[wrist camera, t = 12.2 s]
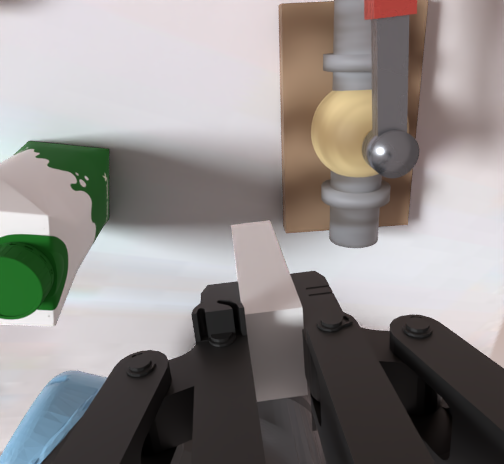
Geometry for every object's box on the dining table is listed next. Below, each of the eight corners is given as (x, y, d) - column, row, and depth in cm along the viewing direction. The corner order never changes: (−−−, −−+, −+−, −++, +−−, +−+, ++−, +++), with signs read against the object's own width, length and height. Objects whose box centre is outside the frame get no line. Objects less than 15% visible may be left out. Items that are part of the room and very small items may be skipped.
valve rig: (400, 217, 48) (446, 263, 38) (283, 225, 47) (300, 274, 37) (418, -2, 40) (483, -14, 30) (278, 5, 39) (298, -5, 29)
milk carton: (118, 228, 46) (53, 357, 27) (22, 220, 45) (-112, 348, 26) (119, 139, 43) (46, 219, 24) (16, 128, 42) (-143, 203, 23)
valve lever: (405, 166, 34) (418, 175, 32) (361, 171, 34) (372, 181, 32) (409, -77, 28) (426, -86, 26) (357, -71, 28) (369, -80, 26)
